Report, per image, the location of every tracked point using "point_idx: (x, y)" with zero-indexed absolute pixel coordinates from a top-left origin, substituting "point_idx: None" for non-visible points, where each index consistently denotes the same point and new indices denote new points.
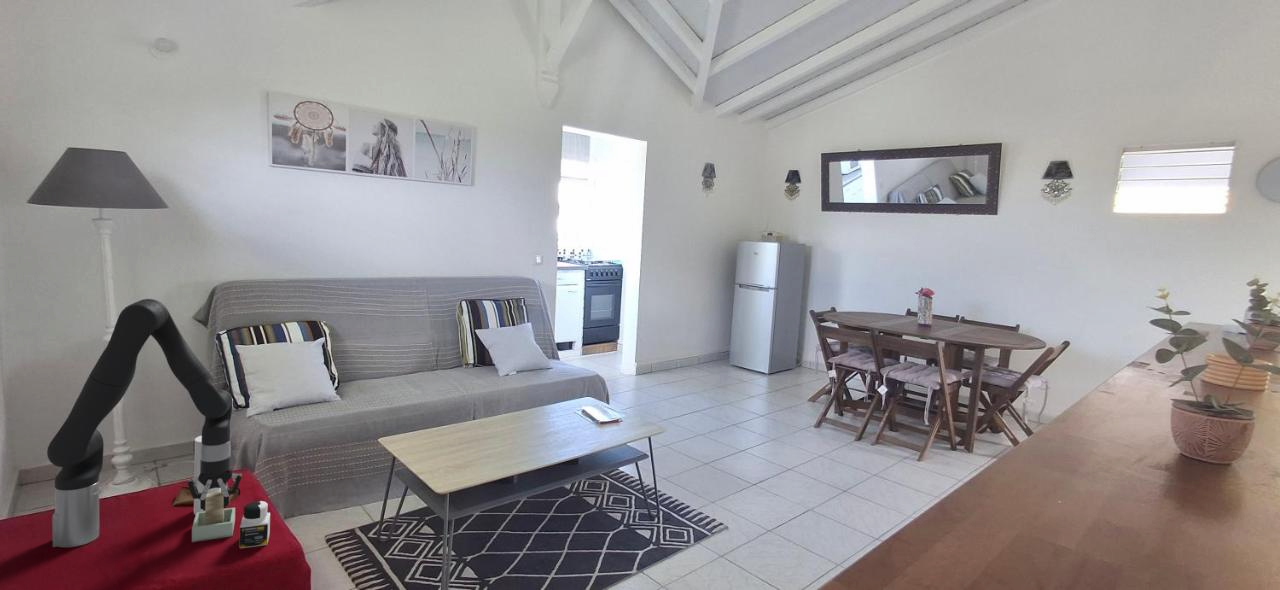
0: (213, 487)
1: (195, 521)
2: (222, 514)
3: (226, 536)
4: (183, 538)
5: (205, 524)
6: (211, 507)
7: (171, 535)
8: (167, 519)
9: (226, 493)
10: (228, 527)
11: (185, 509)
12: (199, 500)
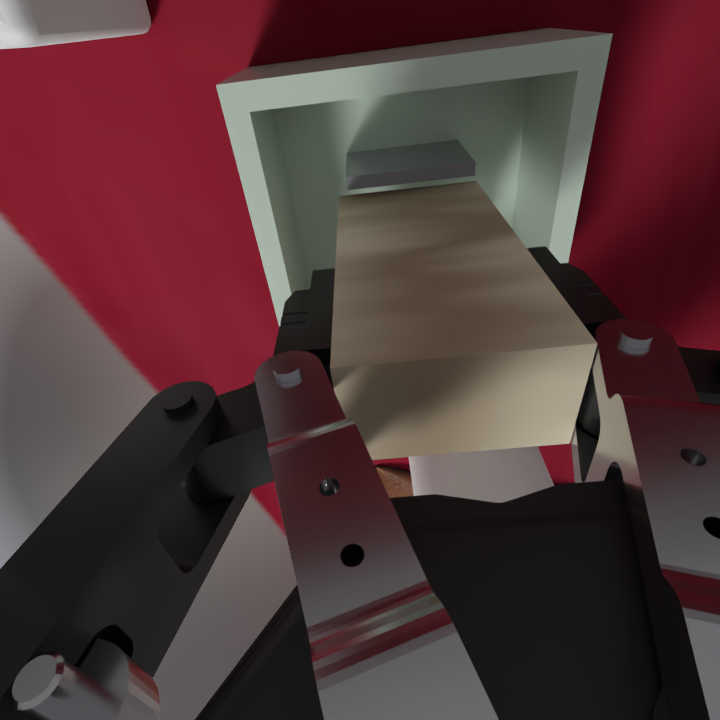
0: (532, 509)
1: (567, 200)
2: (344, 228)
3: (291, 62)
4: (601, 128)
5: (475, 183)
6: (463, 260)
7: (666, 199)
8: None
9: (286, 392)
10: (264, 74)
11: (562, 462)
12: (533, 478)
